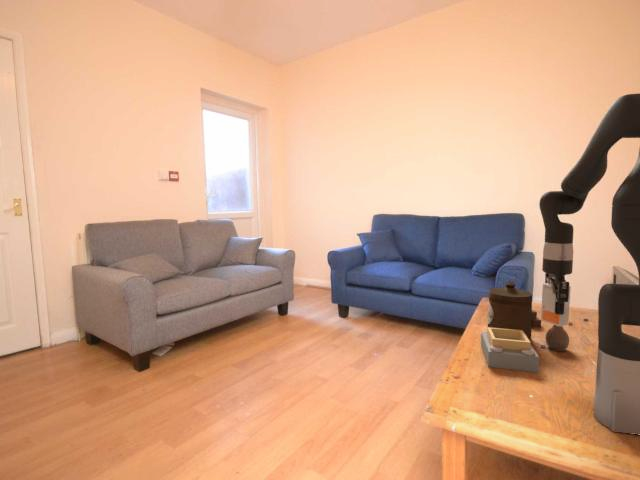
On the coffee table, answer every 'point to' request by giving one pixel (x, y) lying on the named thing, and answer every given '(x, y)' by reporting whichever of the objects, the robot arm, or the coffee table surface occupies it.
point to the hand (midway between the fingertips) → (554, 310)
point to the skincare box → (553, 307)
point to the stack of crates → (535, 320)
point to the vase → (557, 338)
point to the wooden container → (510, 309)
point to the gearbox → (509, 350)
